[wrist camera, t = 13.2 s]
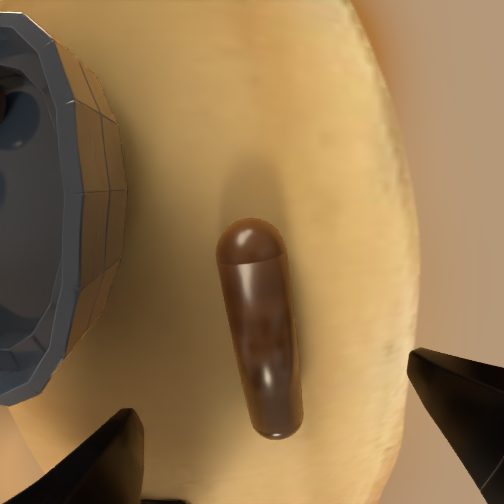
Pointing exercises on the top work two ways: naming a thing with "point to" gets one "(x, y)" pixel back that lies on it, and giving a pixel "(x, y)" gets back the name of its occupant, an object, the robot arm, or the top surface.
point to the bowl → (53, 205)
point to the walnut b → (2, 104)
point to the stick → (262, 324)
